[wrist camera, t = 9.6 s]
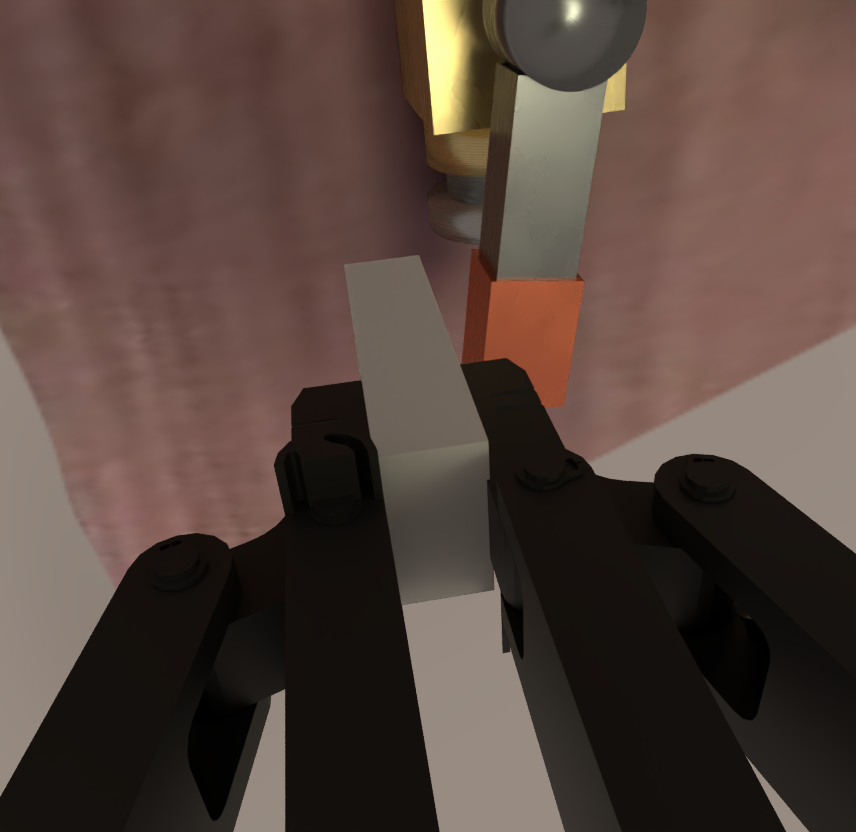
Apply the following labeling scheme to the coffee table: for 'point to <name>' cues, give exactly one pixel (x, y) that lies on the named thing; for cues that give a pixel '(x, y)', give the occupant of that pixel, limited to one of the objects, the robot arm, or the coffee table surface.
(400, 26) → the pipe valve
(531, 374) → the lever
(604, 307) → the coffee table surface
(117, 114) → the coffee table surface
